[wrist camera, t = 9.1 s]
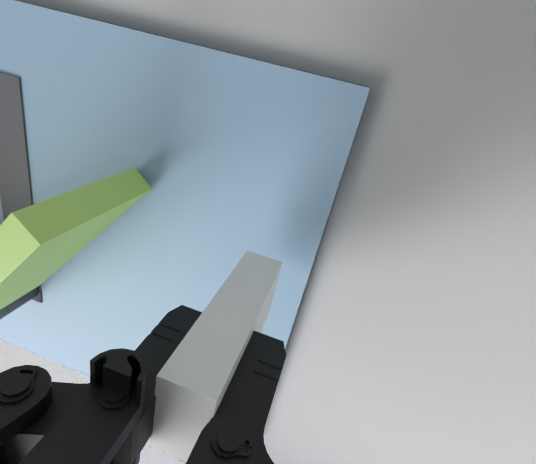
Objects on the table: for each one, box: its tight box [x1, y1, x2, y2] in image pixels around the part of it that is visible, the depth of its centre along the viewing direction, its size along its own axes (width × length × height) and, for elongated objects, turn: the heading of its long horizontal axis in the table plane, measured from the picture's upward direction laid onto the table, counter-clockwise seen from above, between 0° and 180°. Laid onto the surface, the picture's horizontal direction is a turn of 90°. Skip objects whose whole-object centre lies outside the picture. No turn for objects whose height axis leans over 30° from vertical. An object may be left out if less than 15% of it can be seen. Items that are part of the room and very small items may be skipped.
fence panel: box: [0, 168, 152, 310], centre depth 15 cm, size 10×1×6 cm, turn 128°
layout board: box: [0, 0, 370, 376], centre depth 19 cm, size 28×21×1 cm
